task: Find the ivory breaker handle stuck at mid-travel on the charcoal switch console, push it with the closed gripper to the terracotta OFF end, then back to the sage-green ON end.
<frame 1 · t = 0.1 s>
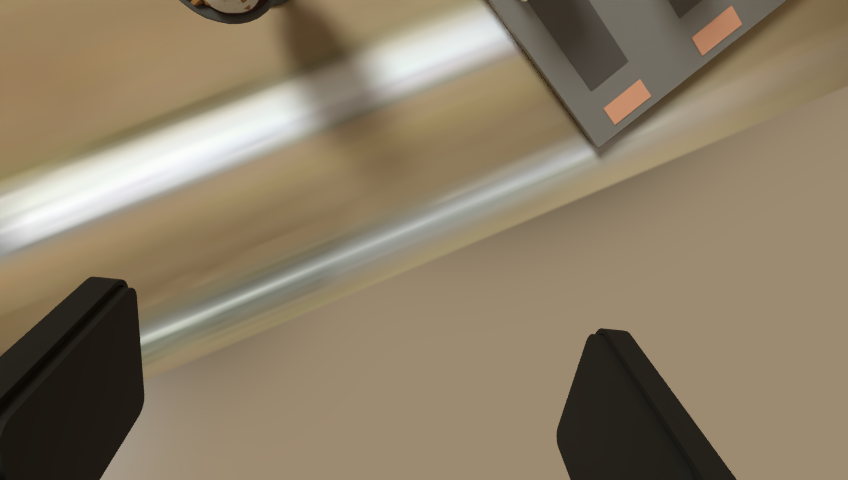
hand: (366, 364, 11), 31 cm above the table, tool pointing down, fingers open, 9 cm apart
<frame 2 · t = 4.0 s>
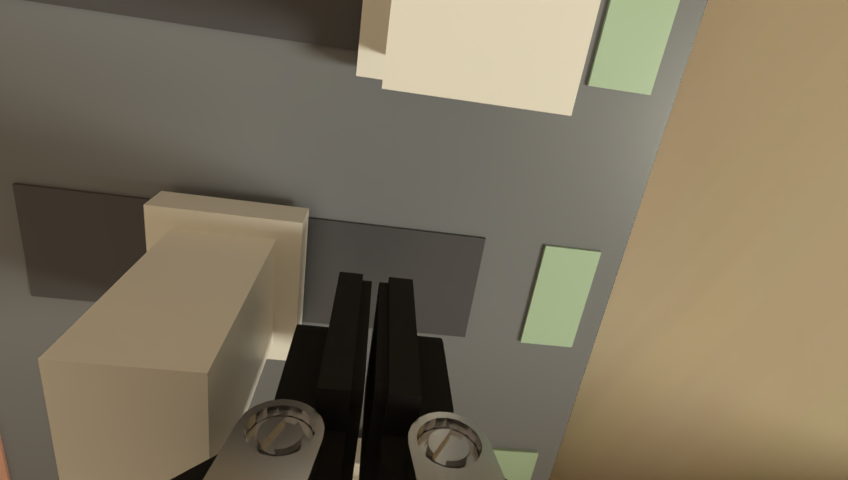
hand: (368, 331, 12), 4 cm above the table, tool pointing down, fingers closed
console: (271, 243, 16), on the table
breaker mid: (196, 335, 11), point 5 cm above the table, slide at 3.5 cm, touching gripper
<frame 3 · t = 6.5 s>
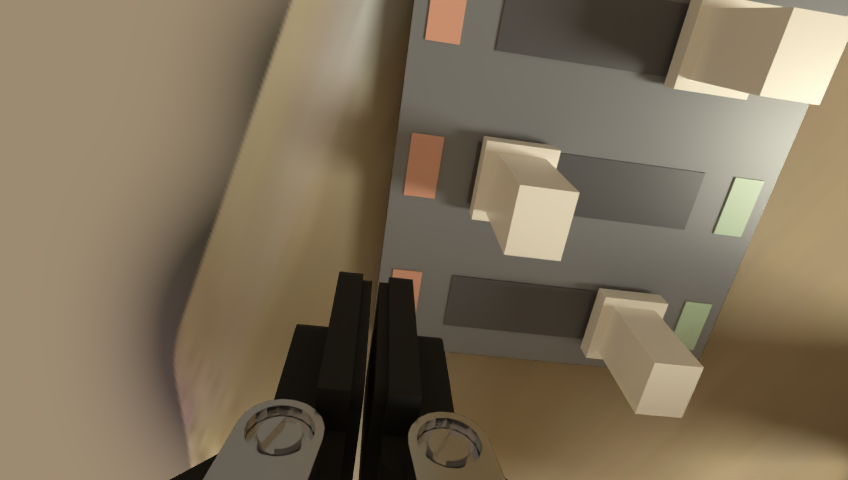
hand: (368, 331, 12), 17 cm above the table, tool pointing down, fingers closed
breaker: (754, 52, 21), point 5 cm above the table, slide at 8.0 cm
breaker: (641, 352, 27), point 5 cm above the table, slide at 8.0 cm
console: (576, 178, 28), on the table
breaker mid: (524, 199, 24), point 5 cm above the table, slide at 0.0 cm
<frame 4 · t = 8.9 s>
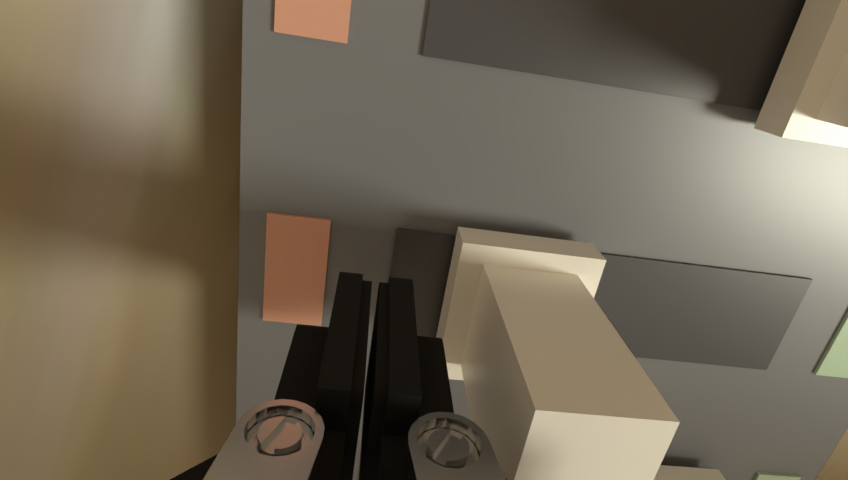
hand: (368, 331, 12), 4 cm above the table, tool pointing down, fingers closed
console: (579, 279, 16), on the table
breaker mid: (537, 371, 12), point 5 cm above the table, slide at 1.3 cm, touching gripper
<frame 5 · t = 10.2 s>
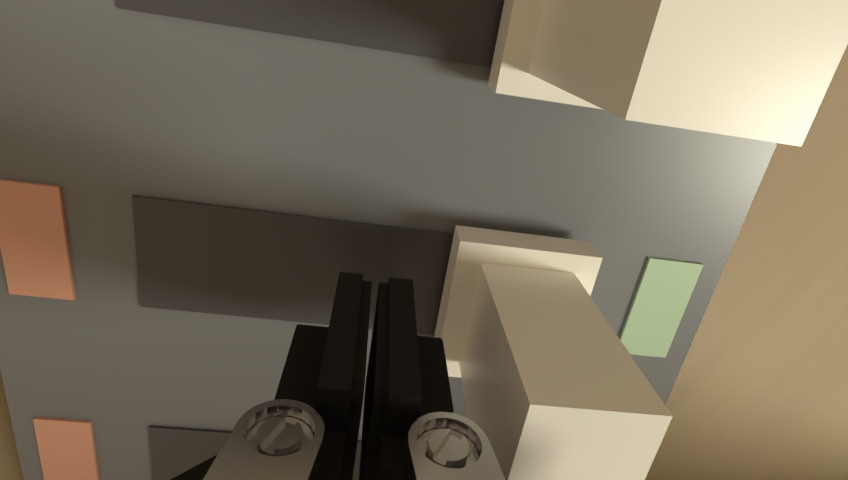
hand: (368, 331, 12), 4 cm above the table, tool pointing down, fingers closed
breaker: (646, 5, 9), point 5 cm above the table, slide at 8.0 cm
console: (369, 253, 16), on the table
breaker mid: (533, 367, 12), point 5 cm above the table, slide at 7.9 cm, touching gripper
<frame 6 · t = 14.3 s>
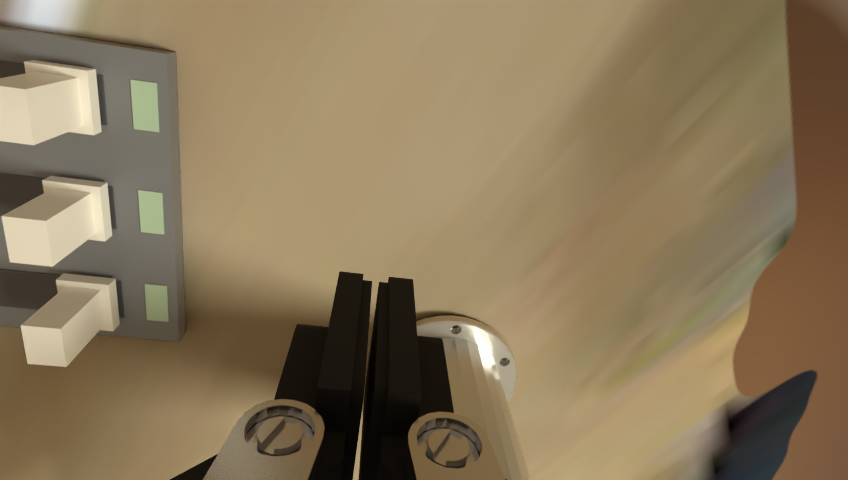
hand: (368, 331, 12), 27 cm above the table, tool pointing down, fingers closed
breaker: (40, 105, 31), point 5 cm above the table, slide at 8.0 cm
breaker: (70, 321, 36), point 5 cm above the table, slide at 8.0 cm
console: (37, 190, 37), on the table
breaker mid: (57, 222, 33), point 5 cm above the table, slide at 8.1 cm
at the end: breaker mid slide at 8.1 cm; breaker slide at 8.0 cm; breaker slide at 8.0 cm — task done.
